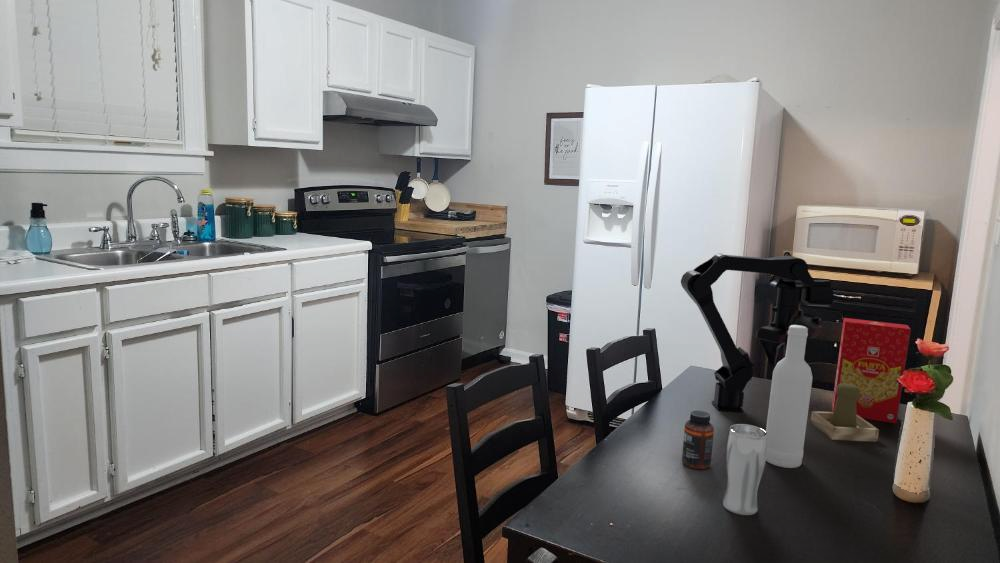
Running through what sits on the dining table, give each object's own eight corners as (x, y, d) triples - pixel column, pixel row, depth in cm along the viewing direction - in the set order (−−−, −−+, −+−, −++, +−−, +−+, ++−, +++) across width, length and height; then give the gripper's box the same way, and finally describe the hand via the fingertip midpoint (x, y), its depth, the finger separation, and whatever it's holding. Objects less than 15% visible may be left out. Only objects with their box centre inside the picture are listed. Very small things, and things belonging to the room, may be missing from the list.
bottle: (756, 459, 146) (772, 325, 141) (770, 449, 152) (786, 320, 147) (794, 472, 141) (811, 333, 136) (807, 461, 147) (824, 327, 142)
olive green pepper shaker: (862, 431, 164) (868, 387, 162) (843, 433, 162) (849, 389, 160) (842, 422, 169) (848, 380, 167) (823, 423, 167) (829, 381, 165)
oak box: (831, 439, 160) (833, 427, 160) (810, 422, 171) (811, 411, 170) (877, 441, 160) (879, 429, 160) (853, 424, 171) (855, 413, 171)
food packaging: (833, 413, 179) (845, 321, 175) (831, 407, 184) (843, 317, 180) (896, 423, 173) (910, 329, 169) (893, 417, 178) (907, 325, 174)
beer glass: (755, 520, 120) (765, 441, 118) (716, 509, 124) (724, 431, 121) (763, 505, 126) (772, 429, 123) (725, 494, 129) (733, 420, 127)
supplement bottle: (712, 462, 144) (717, 411, 142) (708, 473, 139) (713, 420, 137) (683, 456, 146) (688, 406, 145) (679, 466, 141) (683, 415, 139)
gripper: (801, 314, 163) (793, 376, 165) (835, 306, 174) (827, 364, 177) (758, 305, 171) (751, 365, 173) (794, 299, 183) (787, 354, 185)
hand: (781, 362), depth 177 cm, fingers open, 9 cm apart
